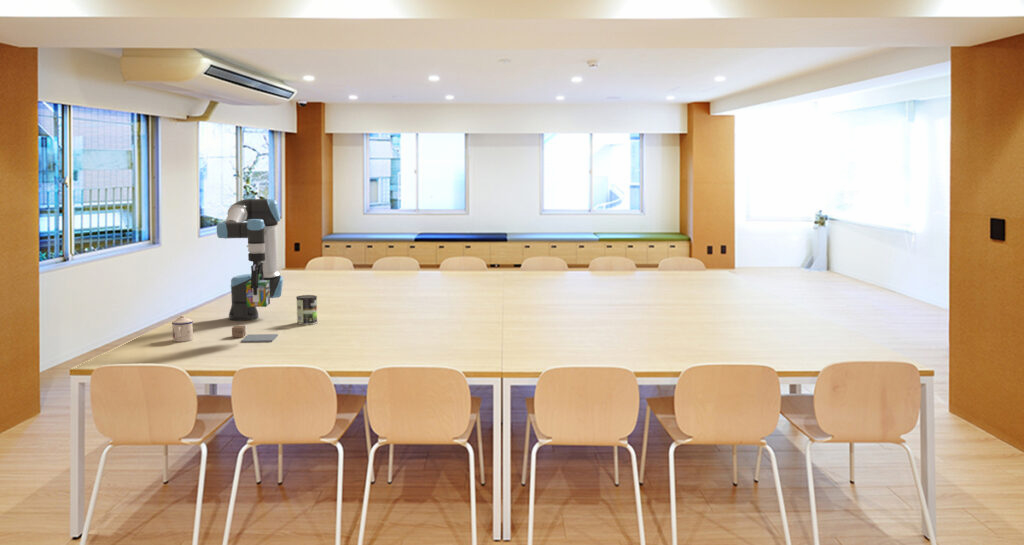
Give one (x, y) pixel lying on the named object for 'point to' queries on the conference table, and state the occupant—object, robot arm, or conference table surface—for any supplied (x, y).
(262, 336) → the slate mat
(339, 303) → the conference table surface
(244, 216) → the robot arm
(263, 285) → the chalk box
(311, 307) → the coffee can
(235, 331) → the walnut block
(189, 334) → the teacup with lid
